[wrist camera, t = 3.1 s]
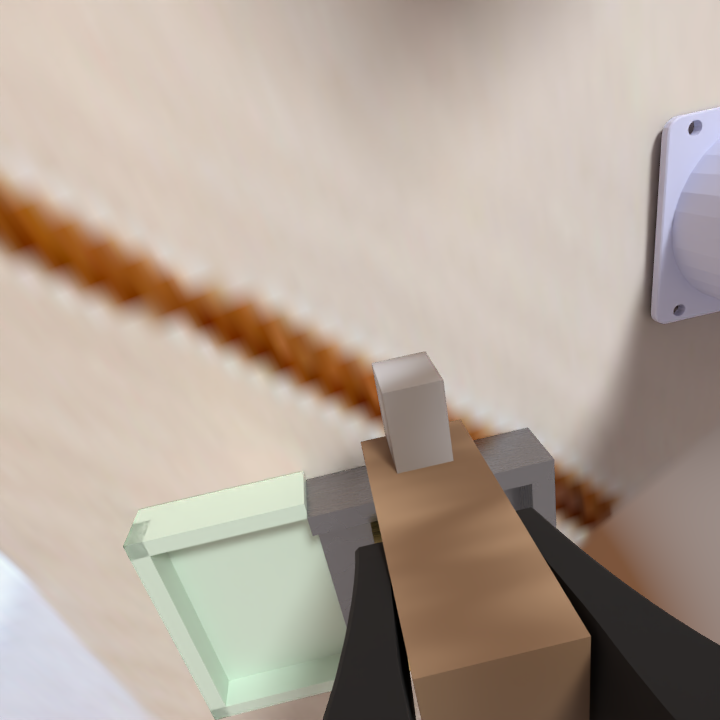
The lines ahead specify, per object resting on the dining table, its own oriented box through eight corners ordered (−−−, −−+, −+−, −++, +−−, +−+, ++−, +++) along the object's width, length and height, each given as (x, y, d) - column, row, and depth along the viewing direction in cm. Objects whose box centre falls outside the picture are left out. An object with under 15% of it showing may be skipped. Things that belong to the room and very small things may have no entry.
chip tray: (303, 471, 22) (304, 503, 20) (354, 644, 27) (359, 684, 25) (138, 509, 22) (123, 546, 20) (221, 677, 27) (215, 719, 25)
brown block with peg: (451, 345, 13) (592, 525, 7) (475, 553, 17) (587, 807, 10) (344, 369, 13) (389, 573, 7) (389, 573, 17) (448, 842, 10)
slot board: (528, 427, 23) (554, 459, 20) (537, 592, 27) (559, 633, 25) (305, 479, 22) (307, 517, 20) (352, 638, 27) (358, 683, 25)
